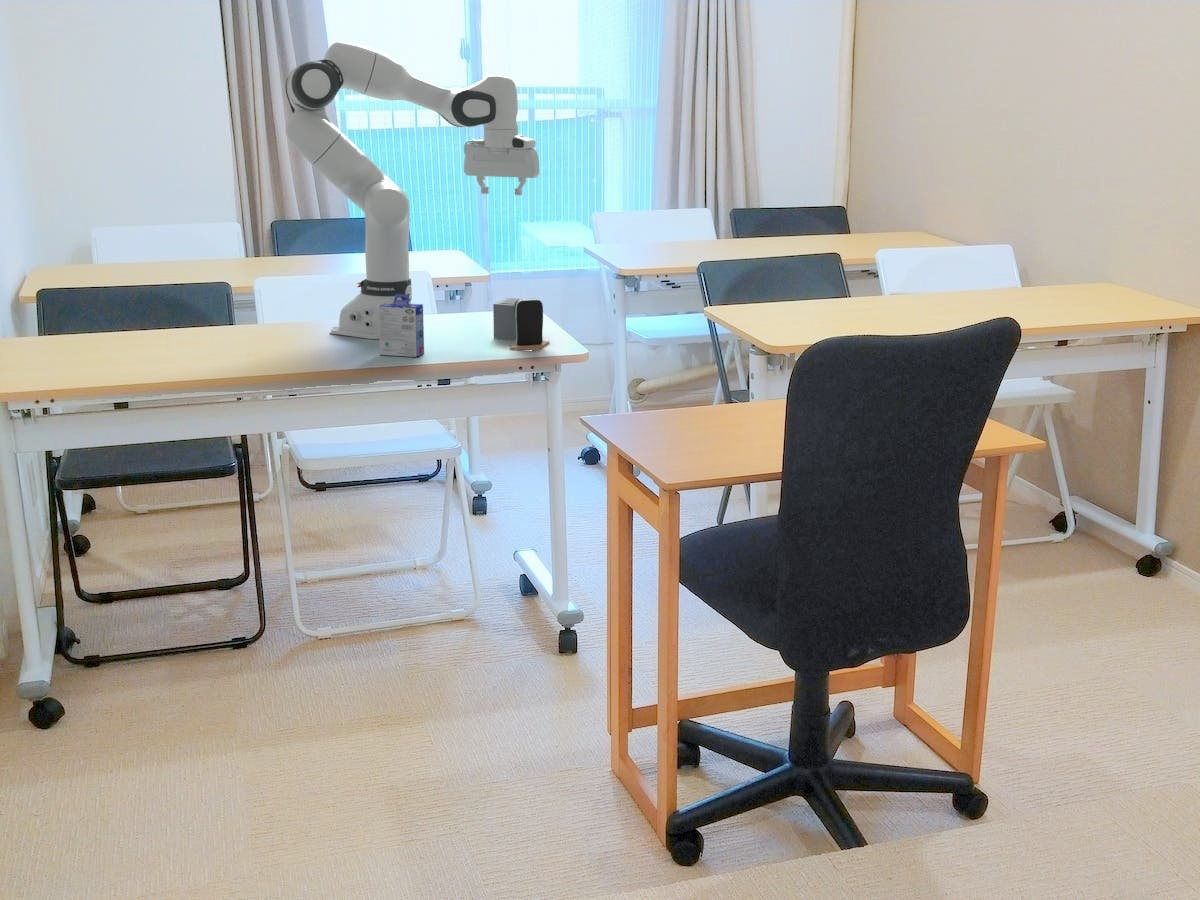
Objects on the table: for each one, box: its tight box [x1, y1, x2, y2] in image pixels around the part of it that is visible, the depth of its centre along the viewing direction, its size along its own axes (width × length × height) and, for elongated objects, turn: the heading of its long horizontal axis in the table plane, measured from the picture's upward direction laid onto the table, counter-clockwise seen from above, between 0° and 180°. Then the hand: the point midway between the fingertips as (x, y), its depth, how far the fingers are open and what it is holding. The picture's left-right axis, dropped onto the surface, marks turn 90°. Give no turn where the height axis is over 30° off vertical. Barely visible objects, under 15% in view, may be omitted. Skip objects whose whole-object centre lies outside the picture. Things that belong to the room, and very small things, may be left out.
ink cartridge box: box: [378, 294, 425, 358], centre depth 284 cm, size 10×6×14 cm, turn 79°
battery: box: [514, 298, 544, 345], centre depth 296 cm, size 7×4×11 cm, turn 109°
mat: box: [509, 340, 550, 352], centre depth 297 cm, size 7×10×1 cm
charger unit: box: [492, 297, 520, 341], centre depth 308 cm, size 8×10×9 cm
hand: (501, 194), depth 312 cm, fingers open, 8 cm apart
